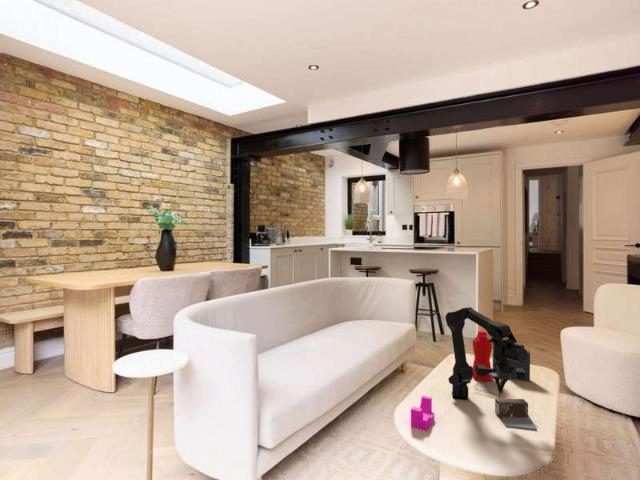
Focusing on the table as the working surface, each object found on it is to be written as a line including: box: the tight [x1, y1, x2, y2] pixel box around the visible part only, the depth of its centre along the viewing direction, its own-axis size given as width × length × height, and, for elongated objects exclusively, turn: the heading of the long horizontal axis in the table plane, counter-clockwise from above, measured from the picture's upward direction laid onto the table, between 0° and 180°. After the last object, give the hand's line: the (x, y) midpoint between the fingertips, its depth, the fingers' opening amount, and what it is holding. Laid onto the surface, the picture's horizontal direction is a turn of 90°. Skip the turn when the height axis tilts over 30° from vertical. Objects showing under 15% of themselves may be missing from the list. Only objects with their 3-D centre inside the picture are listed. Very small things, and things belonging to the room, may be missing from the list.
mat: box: [501, 414, 538, 431], centre depth 154 cm, size 11×15×1 cm
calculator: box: [508, 350, 531, 382], centre depth 197 cm, size 11×4×15 cm, turn 63°
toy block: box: [410, 395, 435, 432], centre depth 152 cm, size 15×6×8 cm, turn 146°
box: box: [494, 398, 529, 418], centre depth 156 cm, size 6×4×12 cm
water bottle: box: [468, 330, 493, 382], centre depth 198 cm, size 9×11×25 cm
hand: (499, 392), depth 155 cm, fingers closed
